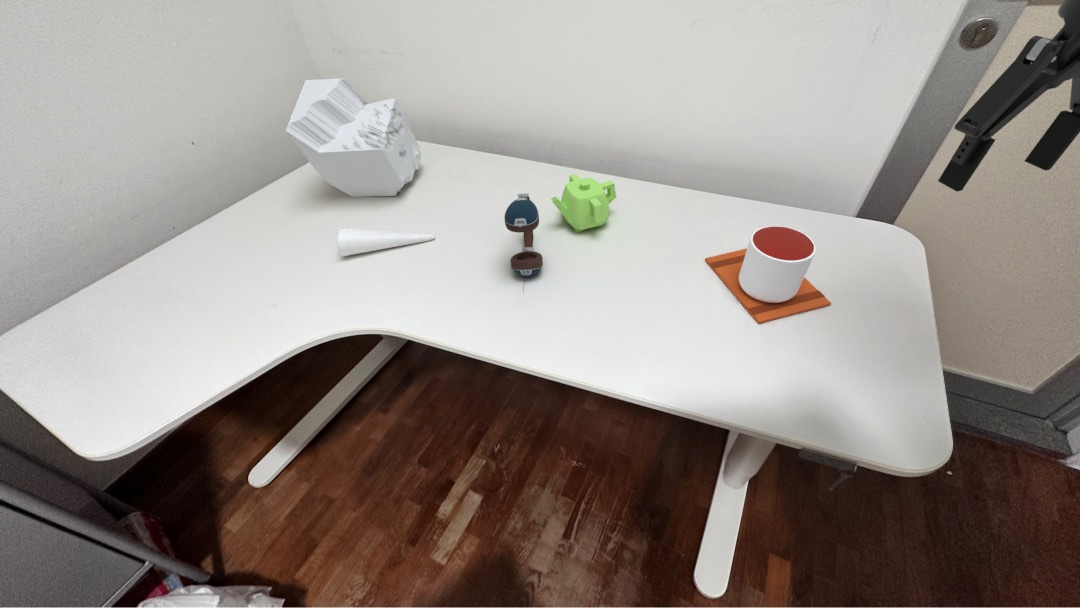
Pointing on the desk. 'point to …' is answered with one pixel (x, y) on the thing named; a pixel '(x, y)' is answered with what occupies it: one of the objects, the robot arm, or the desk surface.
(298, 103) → the white faceted rock
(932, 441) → the desk surface
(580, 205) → the teapot
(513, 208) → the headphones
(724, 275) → the towel
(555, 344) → the desk surface
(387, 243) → the long cone
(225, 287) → the desk surface
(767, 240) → the cup
